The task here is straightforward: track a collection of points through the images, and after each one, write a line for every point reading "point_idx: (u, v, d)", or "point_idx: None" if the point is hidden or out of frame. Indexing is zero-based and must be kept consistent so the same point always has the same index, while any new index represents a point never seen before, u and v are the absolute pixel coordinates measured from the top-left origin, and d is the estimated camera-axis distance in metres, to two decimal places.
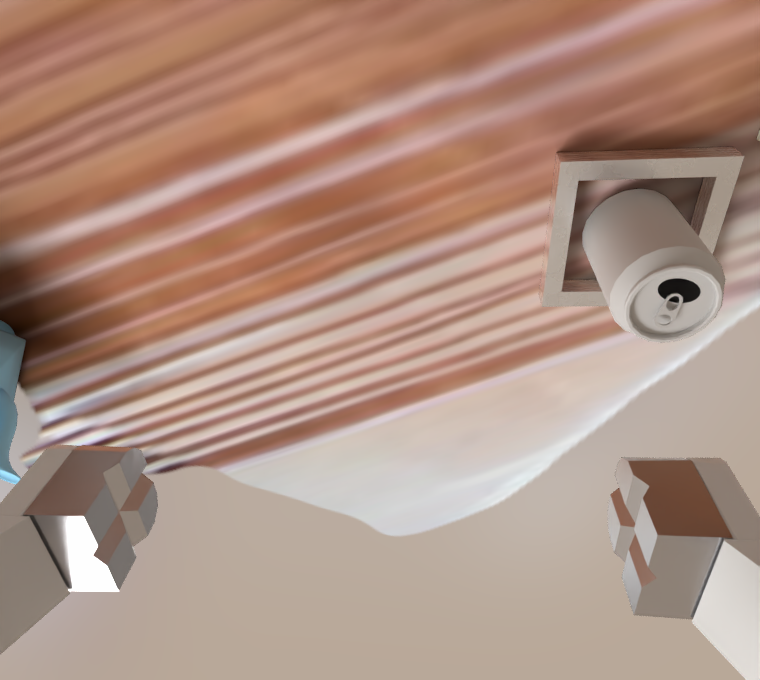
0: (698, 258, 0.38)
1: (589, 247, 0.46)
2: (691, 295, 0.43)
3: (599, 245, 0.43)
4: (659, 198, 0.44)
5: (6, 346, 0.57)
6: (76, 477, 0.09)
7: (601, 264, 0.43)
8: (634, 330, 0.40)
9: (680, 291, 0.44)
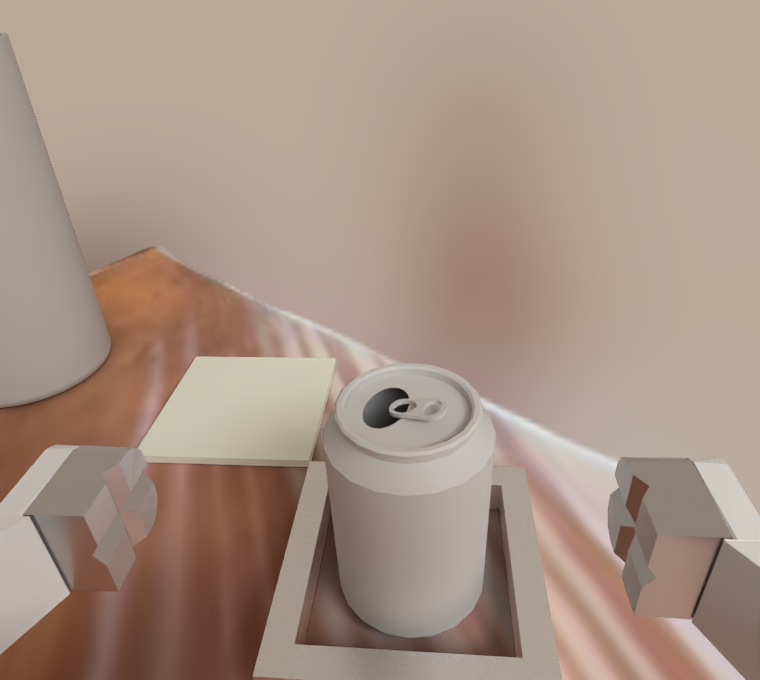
0: None
1: (405, 604, 0.26)
2: None
3: (379, 573, 0.25)
4: None
5: None
6: (76, 477, 0.09)
7: (392, 550, 0.24)
8: (455, 437, 0.22)
9: None
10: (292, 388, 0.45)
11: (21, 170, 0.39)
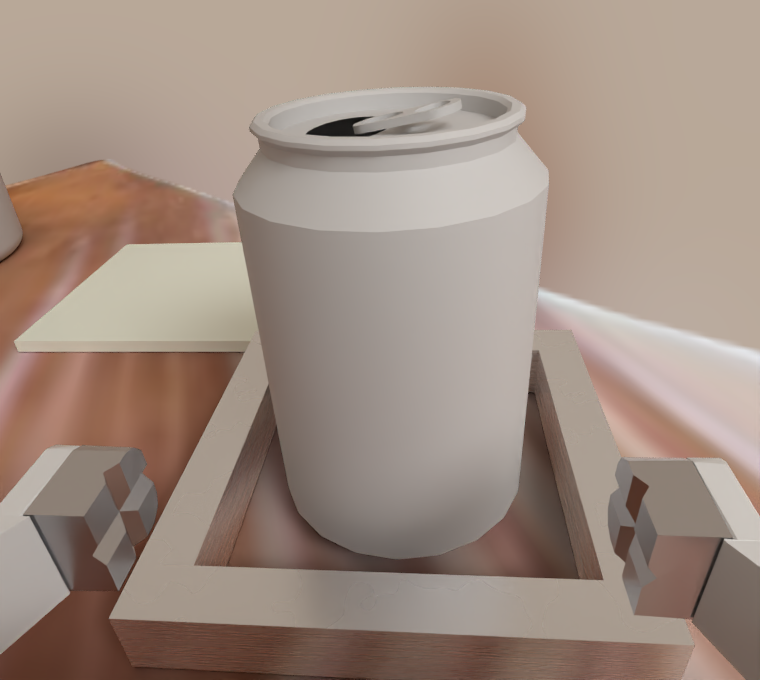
0: None
1: (389, 491, 0.14)
2: None
3: (339, 430, 0.14)
4: None
5: None
6: (76, 477, 0.09)
7: (361, 373, 0.13)
8: (479, 124, 0.11)
9: None
10: (246, 269, 0.33)
11: None
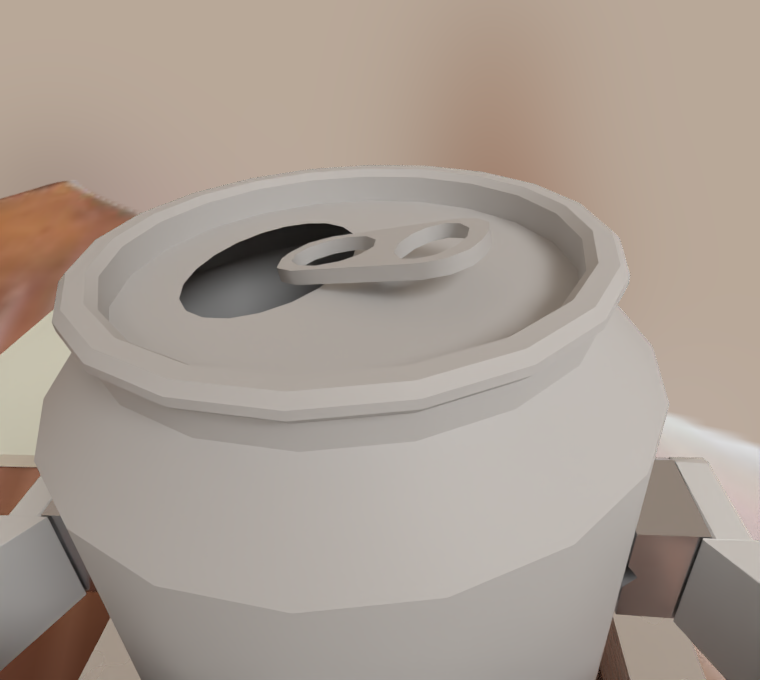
0: None
1: None
2: None
3: None
4: None
5: None
6: None
7: None
8: (542, 327, 0.05)
9: None
10: None
11: None
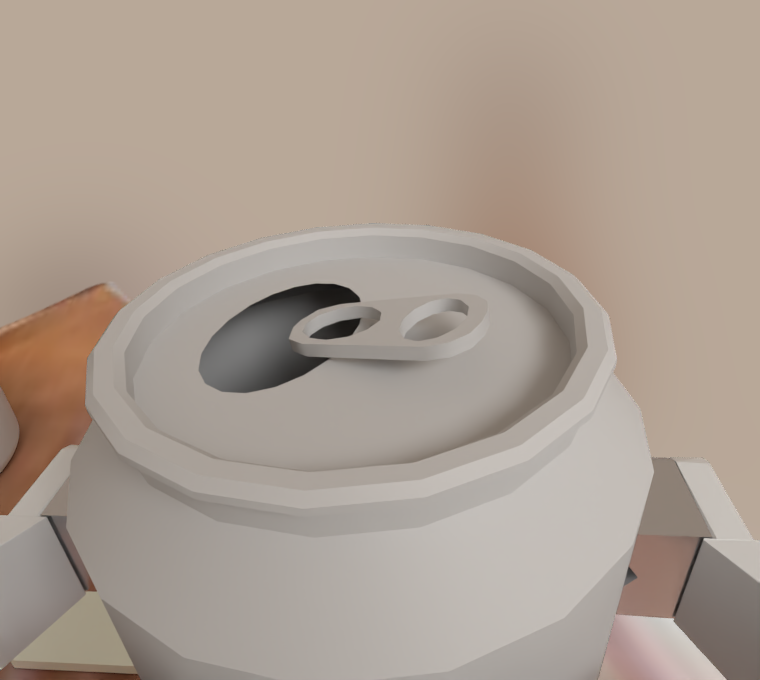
0: None
1: None
2: None
3: None
4: None
5: None
6: None
7: None
8: (535, 420, 0.05)
9: None
10: None
11: None
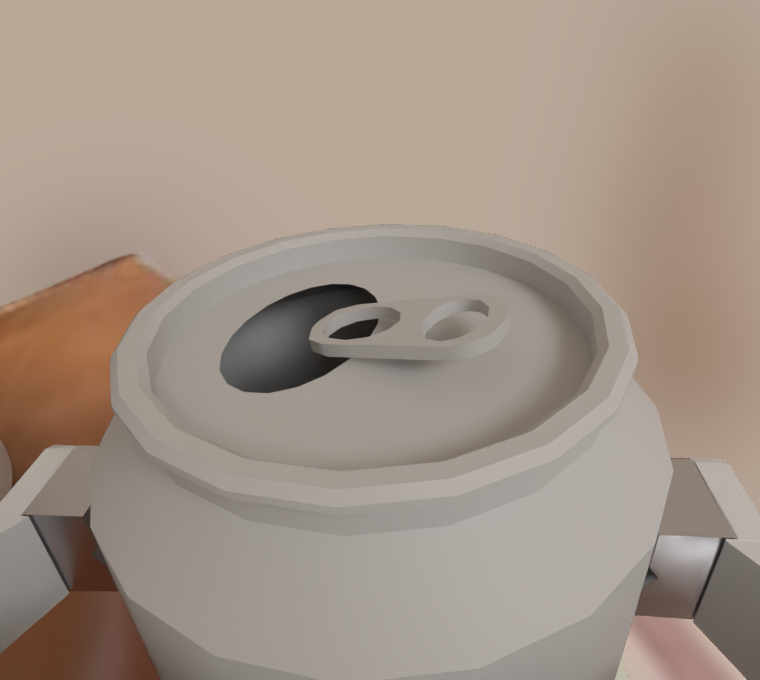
0: None
1: None
2: None
3: None
4: None
5: None
6: (75, 477, 0.09)
7: None
8: (562, 419, 0.05)
9: None
10: None
11: None
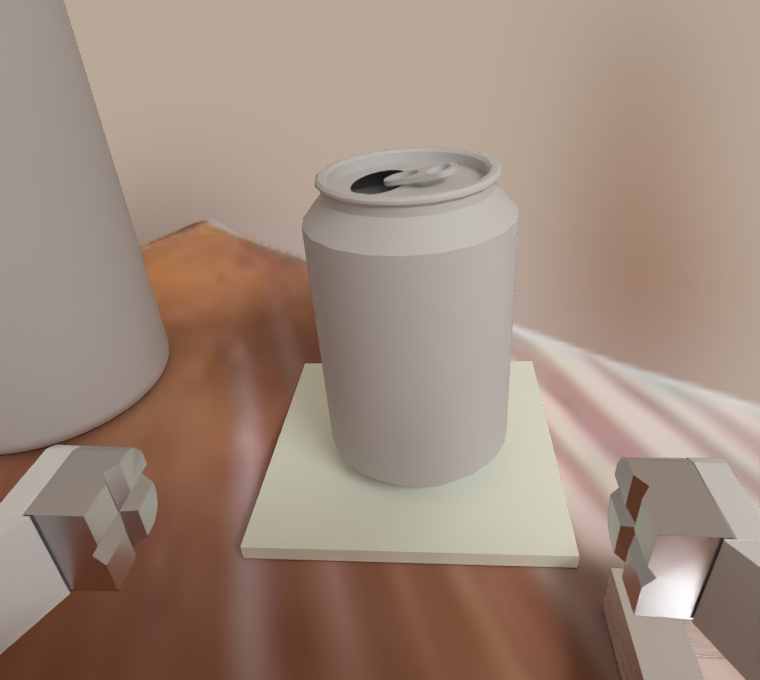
0: None
1: (409, 433, 0.20)
2: None
3: (375, 389, 0.20)
4: None
5: None
6: (76, 477, 0.09)
7: (390, 349, 0.19)
8: (467, 185, 0.17)
9: None
10: None
11: (27, 34, 0.22)
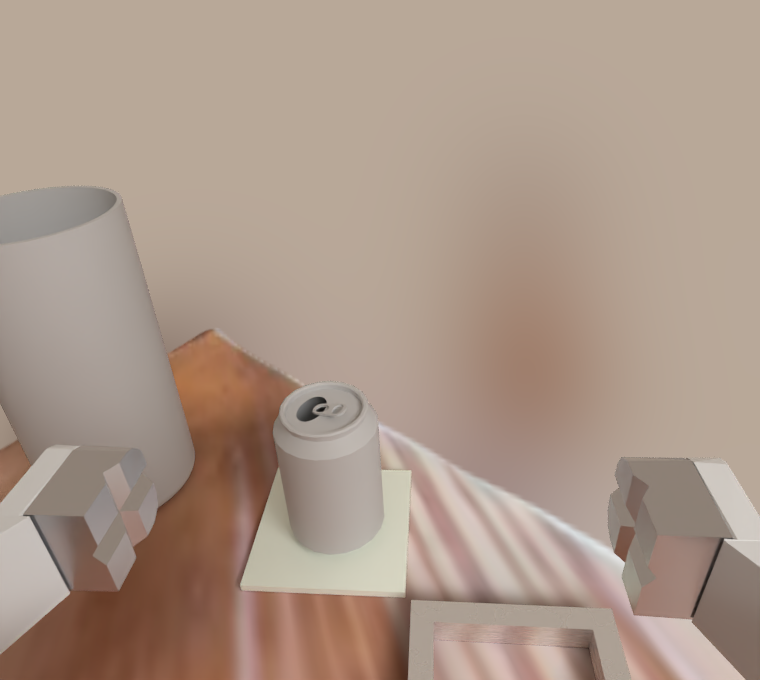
0: None
1: (325, 530, 0.41)
2: None
3: (307, 510, 0.41)
4: None
5: None
6: (76, 477, 0.09)
7: (313, 494, 0.40)
8: (346, 426, 0.38)
9: None
10: None
11: (134, 321, 0.42)
